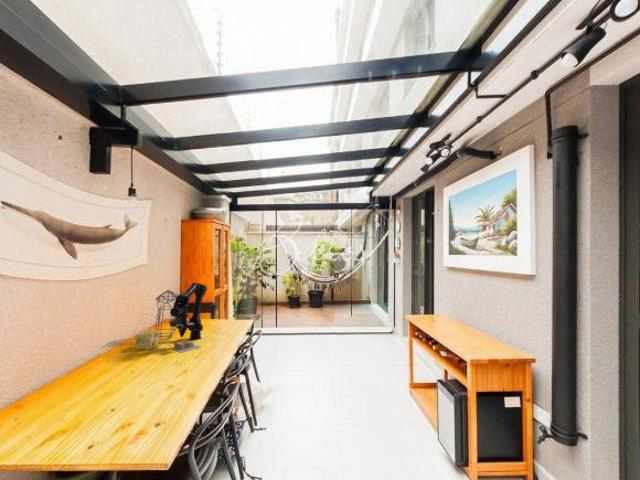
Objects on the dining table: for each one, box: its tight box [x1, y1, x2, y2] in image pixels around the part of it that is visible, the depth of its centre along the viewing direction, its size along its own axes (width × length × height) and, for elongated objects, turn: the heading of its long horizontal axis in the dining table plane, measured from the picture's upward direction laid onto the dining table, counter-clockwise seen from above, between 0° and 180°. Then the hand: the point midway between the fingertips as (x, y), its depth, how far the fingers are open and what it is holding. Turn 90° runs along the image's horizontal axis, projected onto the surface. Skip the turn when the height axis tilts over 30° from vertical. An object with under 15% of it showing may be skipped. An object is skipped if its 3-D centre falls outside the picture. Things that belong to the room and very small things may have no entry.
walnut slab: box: [173, 339, 194, 350], centre depth 204 cm, size 8×3×9 cm
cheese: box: [134, 330, 160, 351], centre depth 202 cm, size 10×11×10 cm
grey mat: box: [171, 344, 201, 353], centre depth 202 cm, size 14×12×1 cm
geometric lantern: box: [154, 289, 179, 340], centre depth 227 cm, size 16×16×35 cm
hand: (181, 336), depth 205 cm, fingers closed
